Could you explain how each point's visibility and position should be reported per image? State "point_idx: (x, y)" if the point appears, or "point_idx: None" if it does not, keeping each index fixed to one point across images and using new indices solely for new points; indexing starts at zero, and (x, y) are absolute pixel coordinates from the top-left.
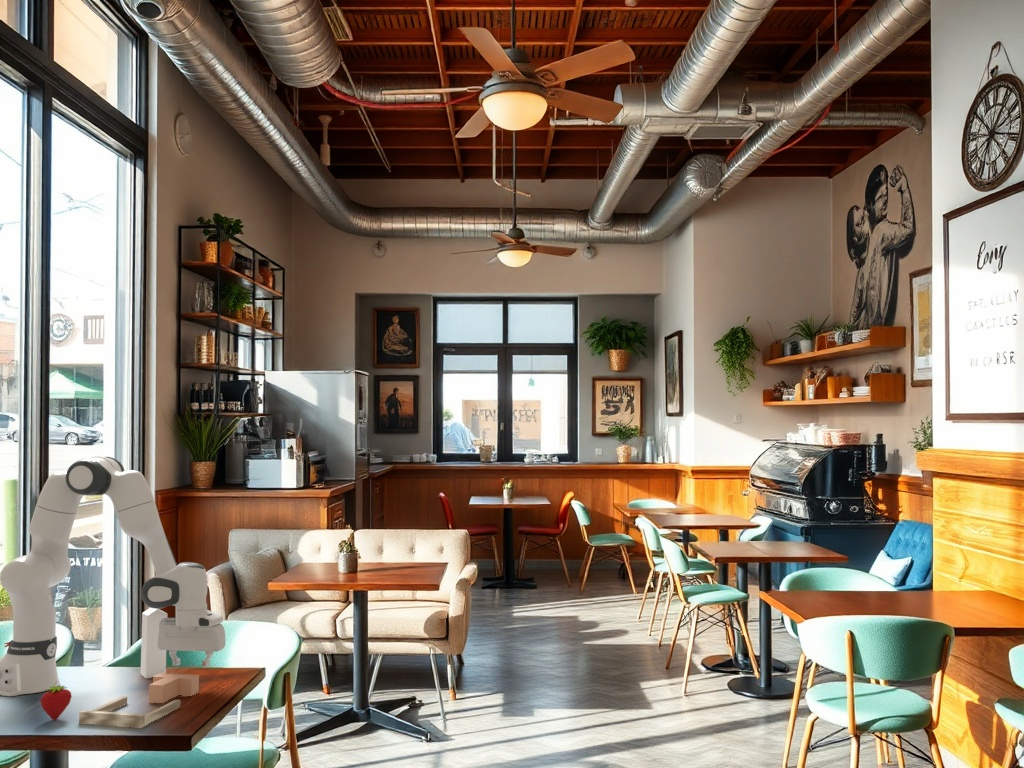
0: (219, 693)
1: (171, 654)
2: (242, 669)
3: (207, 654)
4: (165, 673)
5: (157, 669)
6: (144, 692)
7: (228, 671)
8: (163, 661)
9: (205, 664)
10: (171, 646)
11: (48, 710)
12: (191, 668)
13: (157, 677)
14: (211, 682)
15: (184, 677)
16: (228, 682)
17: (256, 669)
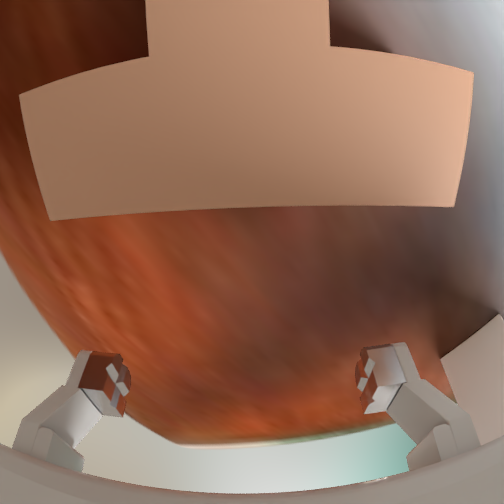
0: (15, 192)
1: (446, 417)
2: (206, 437)
3: (34, 429)
4: (411, 198)
5: (476, 362)
6: None
7: (234, 426)
8: (467, 399)
9: (81, 361)
10: (471, 492)
11: None
12: (374, 420)
13: (427, 60)
14: (192, 338)
15: (99, 98)
16: (123, 345)
17: (166, 437)
